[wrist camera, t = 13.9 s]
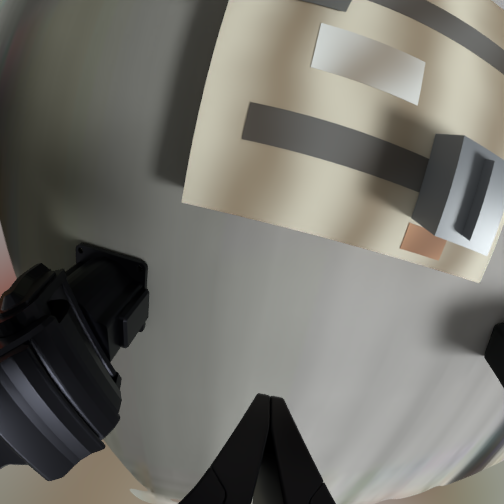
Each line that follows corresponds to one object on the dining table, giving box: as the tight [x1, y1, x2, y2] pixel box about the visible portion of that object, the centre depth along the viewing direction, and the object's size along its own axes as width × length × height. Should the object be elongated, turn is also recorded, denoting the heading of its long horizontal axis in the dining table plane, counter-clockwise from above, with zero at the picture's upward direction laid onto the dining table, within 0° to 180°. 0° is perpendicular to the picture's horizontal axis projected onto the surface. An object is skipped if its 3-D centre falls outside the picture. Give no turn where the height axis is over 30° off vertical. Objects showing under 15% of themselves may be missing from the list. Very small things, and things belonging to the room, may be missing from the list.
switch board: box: [182, 0, 504, 283], centre depth 13 cm, size 20×20×3 cm
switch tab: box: [411, 134, 504, 256], centre depth 12 cm, size 4×5×4 cm
